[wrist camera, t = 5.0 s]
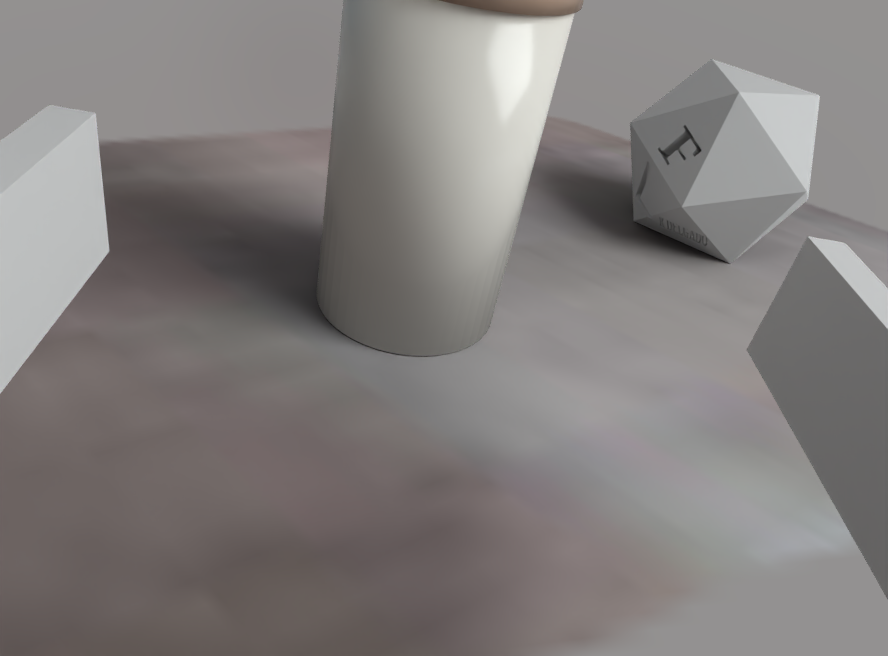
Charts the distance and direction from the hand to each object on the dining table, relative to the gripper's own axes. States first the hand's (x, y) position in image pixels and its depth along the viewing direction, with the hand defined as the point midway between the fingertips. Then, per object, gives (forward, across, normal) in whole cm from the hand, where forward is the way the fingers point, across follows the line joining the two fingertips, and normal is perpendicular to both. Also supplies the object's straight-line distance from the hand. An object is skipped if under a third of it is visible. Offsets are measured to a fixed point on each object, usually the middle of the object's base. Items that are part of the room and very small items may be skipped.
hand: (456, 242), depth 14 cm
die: (+20, +14, -8) cm, 26 cm away
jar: (+10, 0, -8) cm, 13 cm away
